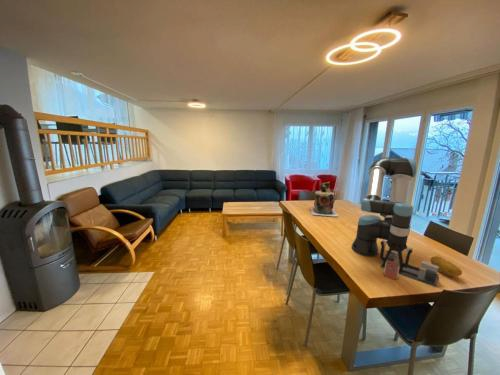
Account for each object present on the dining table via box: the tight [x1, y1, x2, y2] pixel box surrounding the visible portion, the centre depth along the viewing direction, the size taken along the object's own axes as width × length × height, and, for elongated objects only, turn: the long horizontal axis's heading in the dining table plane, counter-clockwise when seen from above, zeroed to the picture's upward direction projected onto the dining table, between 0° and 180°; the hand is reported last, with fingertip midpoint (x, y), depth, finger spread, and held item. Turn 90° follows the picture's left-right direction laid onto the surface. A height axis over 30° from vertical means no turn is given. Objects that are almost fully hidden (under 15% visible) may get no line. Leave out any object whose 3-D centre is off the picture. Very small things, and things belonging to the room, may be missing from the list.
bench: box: [379, 249, 439, 288], centre depth 112 cm, size 24×12×8 cm, turn 46°
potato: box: [430, 255, 463, 277], centre depth 112 cm, size 7×14×7 cm, turn 3°
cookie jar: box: [309, 181, 339, 218], centre depth 206 cm, size 25×25×32 cm
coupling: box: [384, 260, 399, 280], centre depth 108 cm, size 8×5×7 cm, turn 136°
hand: (390, 274), depth 108 cm, fingers closed on coupling, 5 cm apart
